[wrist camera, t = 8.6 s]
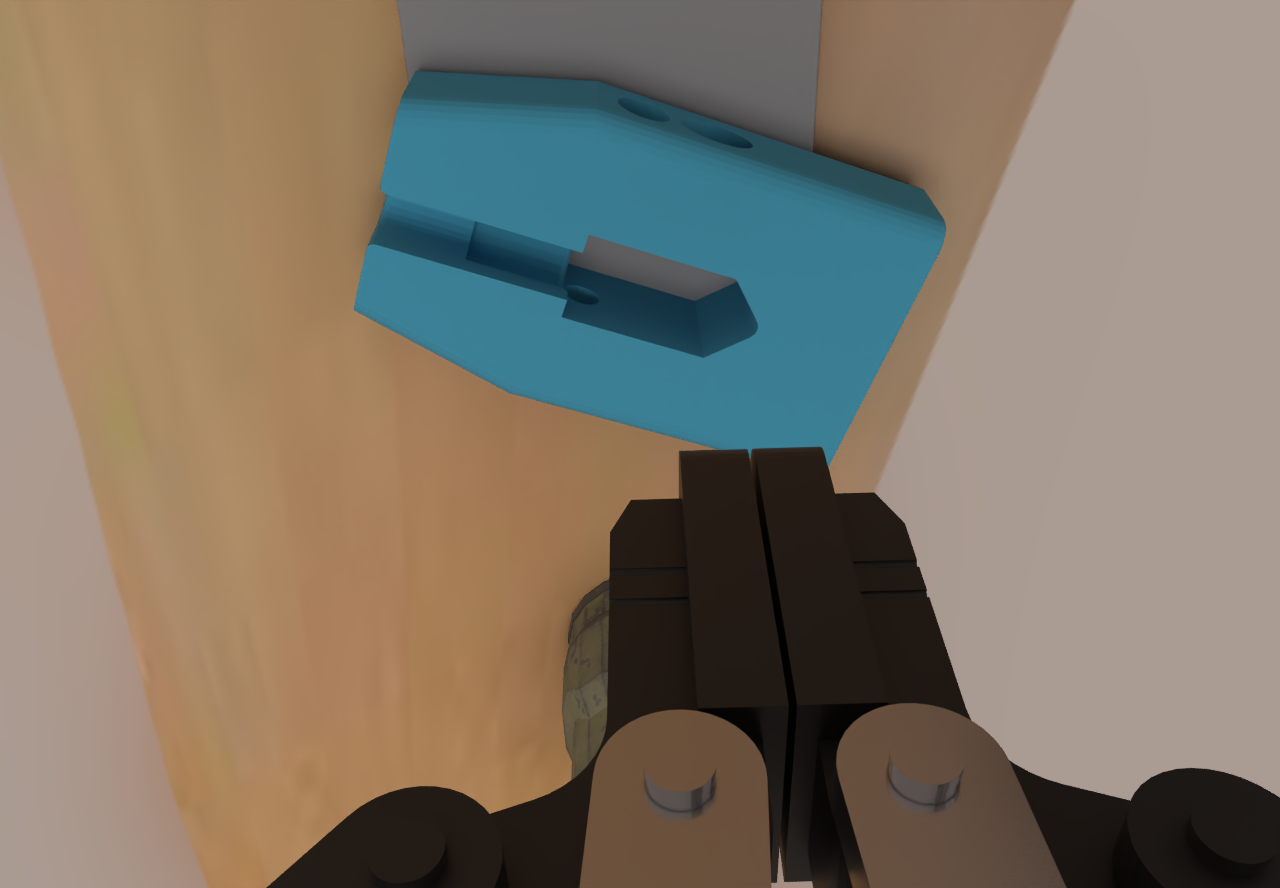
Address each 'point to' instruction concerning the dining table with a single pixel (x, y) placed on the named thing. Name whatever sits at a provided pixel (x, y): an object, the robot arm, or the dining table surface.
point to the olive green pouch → (586, 678)
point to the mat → (640, 74)
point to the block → (654, 223)
